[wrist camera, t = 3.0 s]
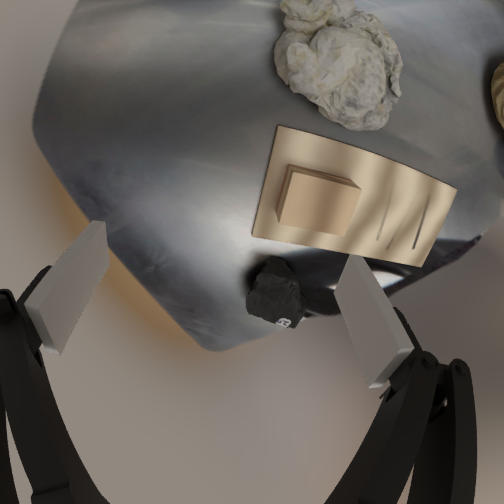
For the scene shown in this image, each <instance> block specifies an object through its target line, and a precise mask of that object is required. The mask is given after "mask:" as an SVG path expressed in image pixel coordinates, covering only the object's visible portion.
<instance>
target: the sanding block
mask: <svg viewBox="0 0 504 504" xmlns="http://www.w3.org/2000/svg"><path fill="white" fill-rule="evenodd" d="M361 191H362V189H361V188H360V187H358V186H357V185H356V184H355V183H354V182H353V181H352V180H350V179H347V178H343V177H340V176H336V175H332V174H329V173H325V172H321V171H317V170H313V169H309V168H305V167H301V166H297V165H292V164H288V165H287V169H286V173H285V176H284V180H283V184H282V188H281V192H280V195H279V199H278V203H277V207H276V210H275V211H276V215H277V219H278V223H279V224H282V225H287V226H293V227H298V228H303V229H308V230H314V231H319V232H324V233H329V234H334V235H339V236H345V233H346V231H347V228H348V226H349V223H350V221H351V218H352V216H353V213H354V210H355V208H356V205H357V202H358V200H359V197H360V194H361Z"/></svg>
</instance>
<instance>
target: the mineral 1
mask: <svg viewBox="0 0 504 504" xmlns="http://www.w3.org/2000/svg"><path fill="white" fill-rule="evenodd" d="M300 290H301V289H300V286H299V283H298V279H297V277H296V275H295V274H294V273H293V272H292V271H291V270H290V268H289V267H288V266H287V264H286V262H285V261H284V260H282V259H280V258H277V257H274V256H271V257H270V258H269V259H268V260H266V261H265V263H264V265H263V268H262V270H261V272H260V273H259V274H258V275H257V277H256V280H255V282H254V284H253V286H252V288H251V290H250V292H249V293H248V295H247V297H246V309H247V312H248V314H252V315H254V316H257V317H261V318H262V319H264V320H266V321H269V322H271V323H274V324H277V325H281V326H284V327H287V328H288V327H291V328H295V327H296V326H297V324H298V323H299V321H300V320H301V319H302V317H303V316H304V314H305V309H306V301H305V298H304V296H303V295H302V294H301V292H300Z"/></svg>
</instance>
